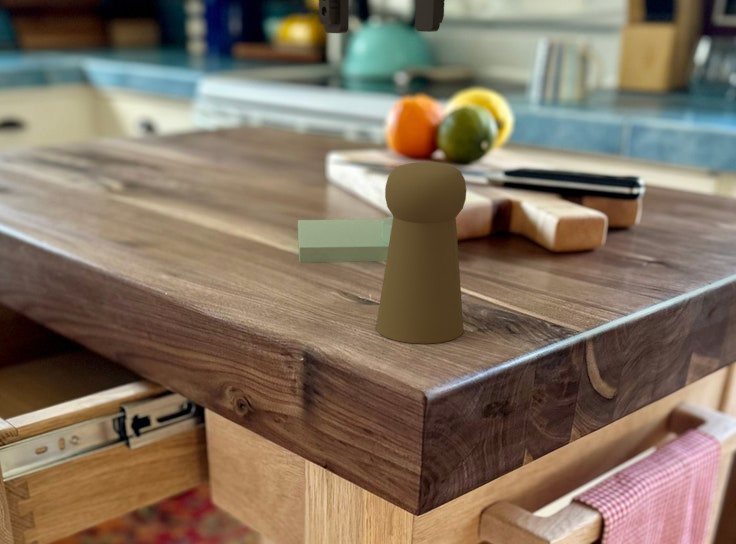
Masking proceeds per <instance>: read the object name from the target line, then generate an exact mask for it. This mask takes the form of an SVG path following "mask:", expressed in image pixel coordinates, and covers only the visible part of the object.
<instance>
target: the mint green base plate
mask: <svg viewBox="0 0 736 544" xmlns="http://www.w3.org/2000/svg"><path fill="white" fill-rule="evenodd" d="M392 222H393V215H391V216H388V217H386V218H375V219H373V218H372V219H371V218H370V219H369V218H368V219H367V218H365V219H364V218H362V219H298V220H297V240H298V242H297V243H298V259H299V260H298V261H299V263H346V262H347V263H349V262H350V263H351V262H354V263H356V262H386V260H387V253H388V247H389V241H390V234H391V228H392Z"/></svg>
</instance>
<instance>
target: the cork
mask: <svg viewBox="0 0 736 544" xmlns="http://www.w3.org/2000/svg"><path fill="white" fill-rule="evenodd" d="M384 197H385V202H386V207H387V209H388V210H389V212H390V213H391V216H393V222H392V228H391V234H390V241H389V247H388V253H387V260H386V261H385V267H384V272H383V279H382V285H381V292H380V299H379V304H378V311H377V315H376V316H377V318H376V323H375V324H376V325H375V330H376V331H377V333H378V334H380V335H381V336H383V337H385V338H386V339H390V340H393V341H397V342H402V343H409V344H423V345H424V344H426V345H428V344H439V343H445V342H449V341H453V340H454V339H457V338H460V337H461V335H462V334H463V333H464V331H465V330H464V318H463V302H462V289H461V274H460V260H459V246H458V245H459V244H458V243H459V242H458V231H457V230H458V229H457V217H458V216H459V214H460V213H461V212H462V210H464V207H465V202H466V200H467V185H466V180H465V177H464V175H463V173H462V171H461V170H460V169H458V168H456V167H455V166H453V165H449V164H445V163H441V162H435V161H434V162H432V161H418V162H410V163H406V164H401V165H399V166H397V167H395V168H394V169H392V170H391V171H390V173H389V175H388V177H387V178H386V183H385V188H384Z"/></svg>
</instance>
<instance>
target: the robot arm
mask: <svg viewBox="0 0 736 544" xmlns="http://www.w3.org/2000/svg"><path fill="white" fill-rule="evenodd" d="M349 3H350V1H349V0H318V18H319V21H320V24H321V25H323V28H324V32H325V33H327V34H347V32H348V31H349V25H350V24H349V22H350V21H349V17H350V16H349V15H350V14H349V13H350V12H349V10H350V7H349V5H350V4H349ZM414 15H415V16H414V19H415V20H414V27H415V30H416V31H417V32H425V33H431V32H438V31H439V30H440V26H441V24H442V23H443V20H444V17H445V0H415V14H414Z"/></svg>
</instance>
